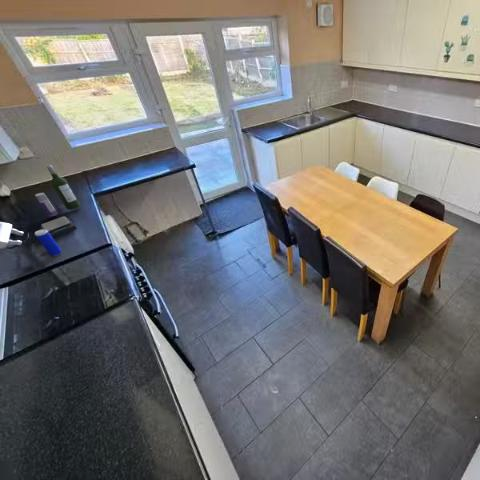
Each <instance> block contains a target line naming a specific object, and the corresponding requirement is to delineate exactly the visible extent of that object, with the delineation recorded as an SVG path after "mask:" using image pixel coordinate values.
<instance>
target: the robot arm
mask: <svg viewBox="0 0 480 480" xmlns="http://www.w3.org/2000/svg"><path fill="white" fill-rule="evenodd" d="M11 234H15V235H17V236H19V237H24V234H25V232H24V231H20V230H18V229H17V228H13V224H11V223H8V222H4V221H0V249H6V248H7V246H8V245H9V246H15V245H17V246H22V244H23V240H19V239H17V240H13V239H10V238H11Z"/></svg>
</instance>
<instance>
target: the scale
mask: <svg viewBox="0 0 480 480" xmlns="http://www.w3.org/2000/svg"><path fill="white" fill-rule="evenodd" d="M65 217H66V219H67V220H68V221H69V222H70V223H71V224H68V225H66V226H63V227H61V228H58V229H56V230H53V231H50V232H49V234H50V235H51V236H52V238H55V237H58V236H61V235H64V234H66V233H69V232H72V231H74V230H77V229H78V228H77V226H76V225H75V224H74V223H73V222H72V220H71V219H70V218H69V217H68V216H65ZM40 229H41V230H42V229H44V228H43V227H42V225H41V226H40Z"/></svg>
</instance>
